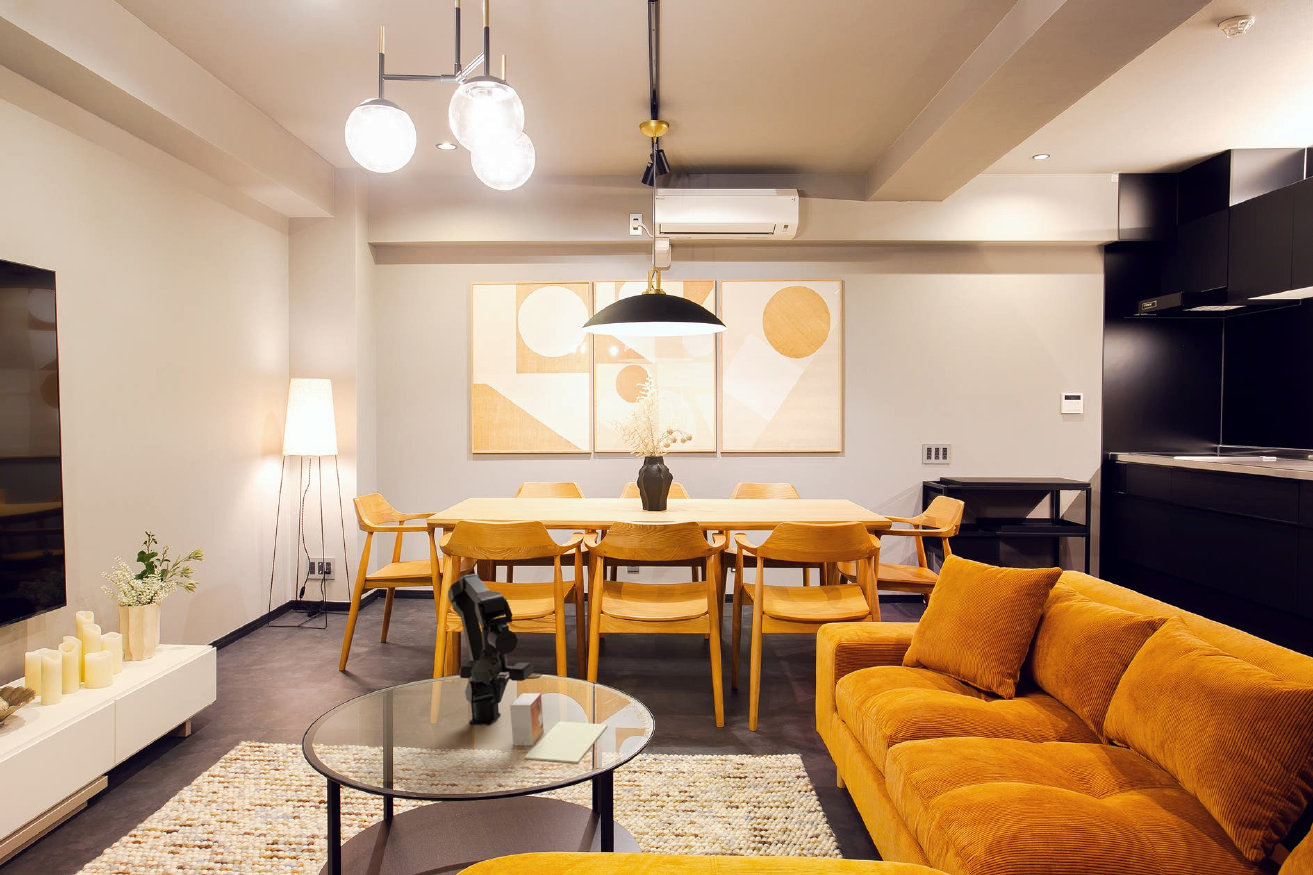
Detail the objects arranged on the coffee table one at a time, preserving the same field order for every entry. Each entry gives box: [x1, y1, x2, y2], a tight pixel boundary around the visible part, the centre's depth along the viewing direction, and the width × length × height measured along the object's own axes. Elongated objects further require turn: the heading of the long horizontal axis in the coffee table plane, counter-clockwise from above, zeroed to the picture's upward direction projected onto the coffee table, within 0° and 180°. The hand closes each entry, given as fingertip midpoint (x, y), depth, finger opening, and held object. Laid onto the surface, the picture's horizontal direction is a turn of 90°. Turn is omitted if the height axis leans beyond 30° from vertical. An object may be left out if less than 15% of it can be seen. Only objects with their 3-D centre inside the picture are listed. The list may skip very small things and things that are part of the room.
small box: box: [509, 692, 545, 747], centre depth 184 cm, size 8×6×10 cm
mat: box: [524, 720, 609, 764], centre depth 181 cm, size 14×20×1 cm
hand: (498, 702), depth 186 cm, fingers closed
